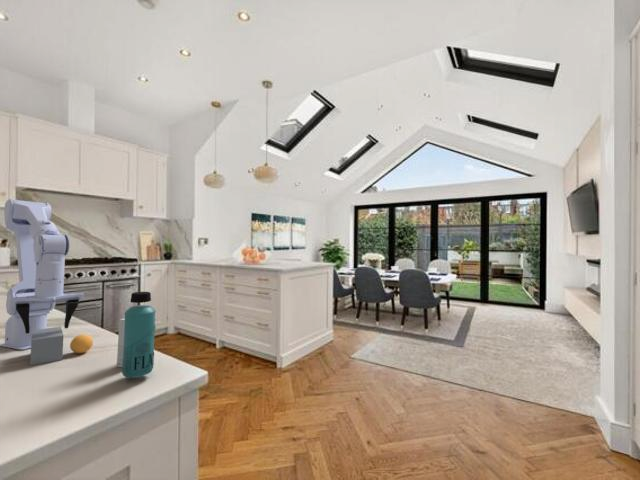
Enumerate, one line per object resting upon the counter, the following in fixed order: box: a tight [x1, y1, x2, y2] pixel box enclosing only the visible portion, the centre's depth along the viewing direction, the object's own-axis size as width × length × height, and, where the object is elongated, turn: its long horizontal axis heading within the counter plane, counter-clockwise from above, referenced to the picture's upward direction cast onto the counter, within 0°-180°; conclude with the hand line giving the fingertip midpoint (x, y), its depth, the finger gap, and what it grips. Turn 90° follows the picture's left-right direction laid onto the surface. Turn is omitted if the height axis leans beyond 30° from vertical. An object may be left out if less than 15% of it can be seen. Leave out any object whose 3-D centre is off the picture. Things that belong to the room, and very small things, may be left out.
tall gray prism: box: [30, 326, 64, 367], centre depth 80 cm, size 10×6×6 cm, turn 44°
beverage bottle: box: [121, 291, 157, 378], centre depth 70 cm, size 6×7×20 cm
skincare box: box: [116, 317, 125, 368], centre depth 78 cm, size 6×4×12 cm
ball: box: [69, 333, 94, 354], centre depth 84 cm, size 5×5×5 cm
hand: (47, 330), depth 80 cm, fingers open, 7 cm apart
